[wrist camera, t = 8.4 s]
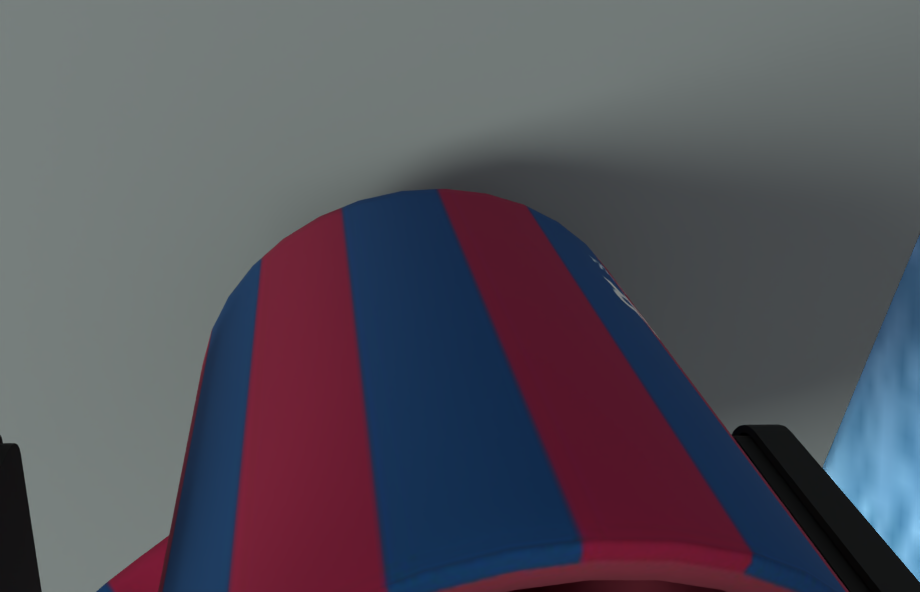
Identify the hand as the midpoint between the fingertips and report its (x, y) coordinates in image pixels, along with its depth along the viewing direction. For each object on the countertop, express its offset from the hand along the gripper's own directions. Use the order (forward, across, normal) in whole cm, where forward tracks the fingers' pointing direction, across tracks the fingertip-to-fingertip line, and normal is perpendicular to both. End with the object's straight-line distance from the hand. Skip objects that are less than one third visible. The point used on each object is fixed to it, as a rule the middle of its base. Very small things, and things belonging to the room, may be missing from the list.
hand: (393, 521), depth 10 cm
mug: (+3, +1, +1) cm, 3 cm away
